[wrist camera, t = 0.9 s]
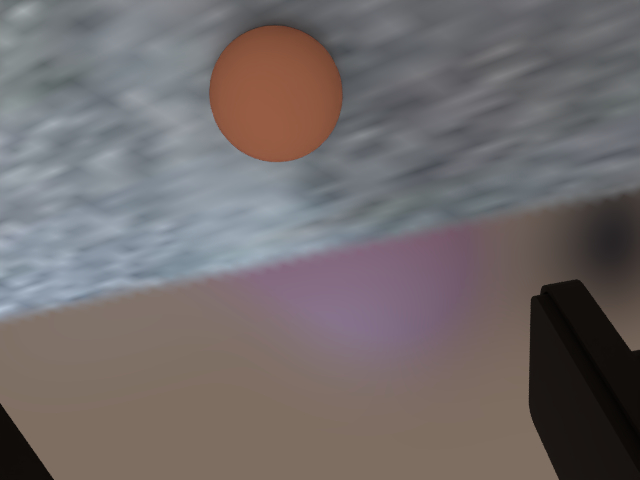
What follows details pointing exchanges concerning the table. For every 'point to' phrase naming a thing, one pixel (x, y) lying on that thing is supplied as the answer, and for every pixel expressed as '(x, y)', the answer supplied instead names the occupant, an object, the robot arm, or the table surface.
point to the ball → (275, 93)
